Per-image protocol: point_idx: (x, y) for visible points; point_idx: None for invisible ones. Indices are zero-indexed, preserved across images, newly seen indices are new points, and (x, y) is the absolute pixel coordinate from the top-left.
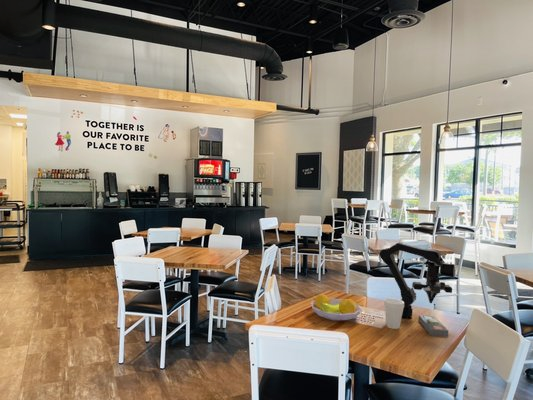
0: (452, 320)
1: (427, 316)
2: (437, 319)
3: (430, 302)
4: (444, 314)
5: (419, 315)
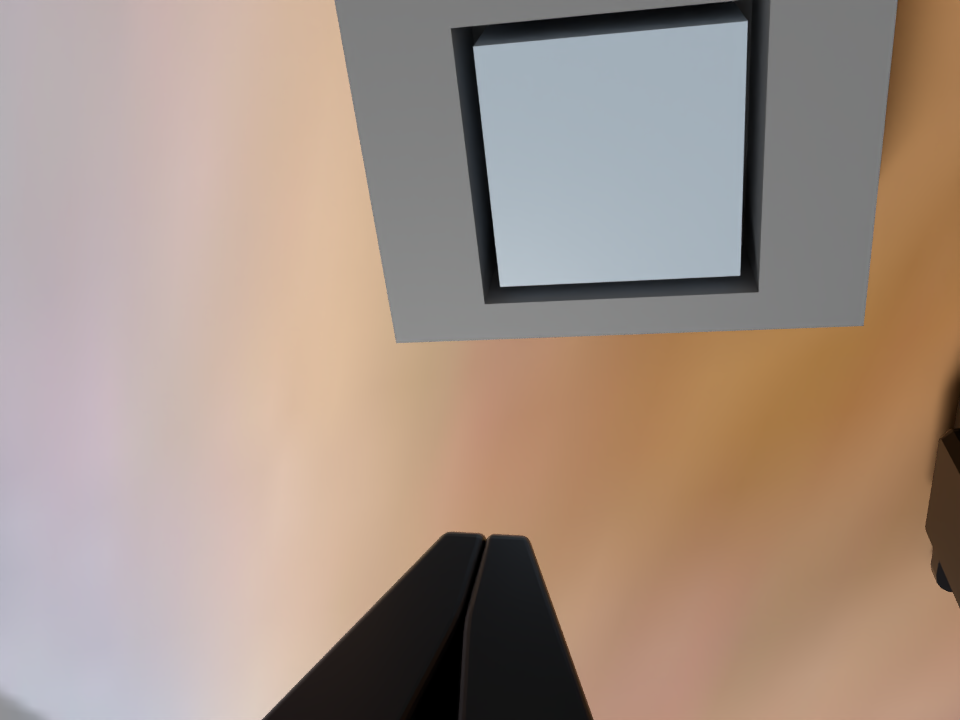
0: (27, 454)
1: (611, 268)
2: (349, 59)
3: (507, 555)
4: (163, 706)
5: (856, 291)
